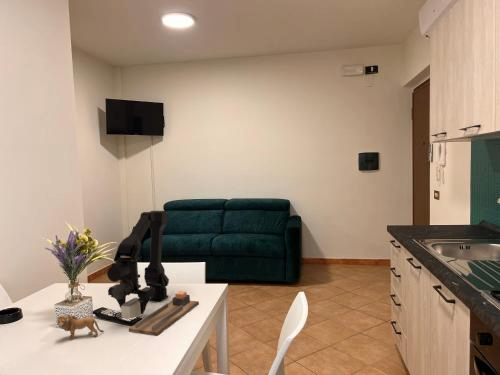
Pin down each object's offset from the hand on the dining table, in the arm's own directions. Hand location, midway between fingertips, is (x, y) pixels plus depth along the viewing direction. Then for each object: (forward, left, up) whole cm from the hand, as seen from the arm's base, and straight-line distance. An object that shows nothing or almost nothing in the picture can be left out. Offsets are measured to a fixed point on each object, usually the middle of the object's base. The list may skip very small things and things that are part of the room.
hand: (132, 312), depth 146 cm
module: (0, 0, -2) cm, 2 cm away
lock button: (+13, +15, +1) cm, 20 cm away
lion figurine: (-7, -20, -2) cm, 21 cm away
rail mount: (+13, +4, -2) cm, 14 cm away
